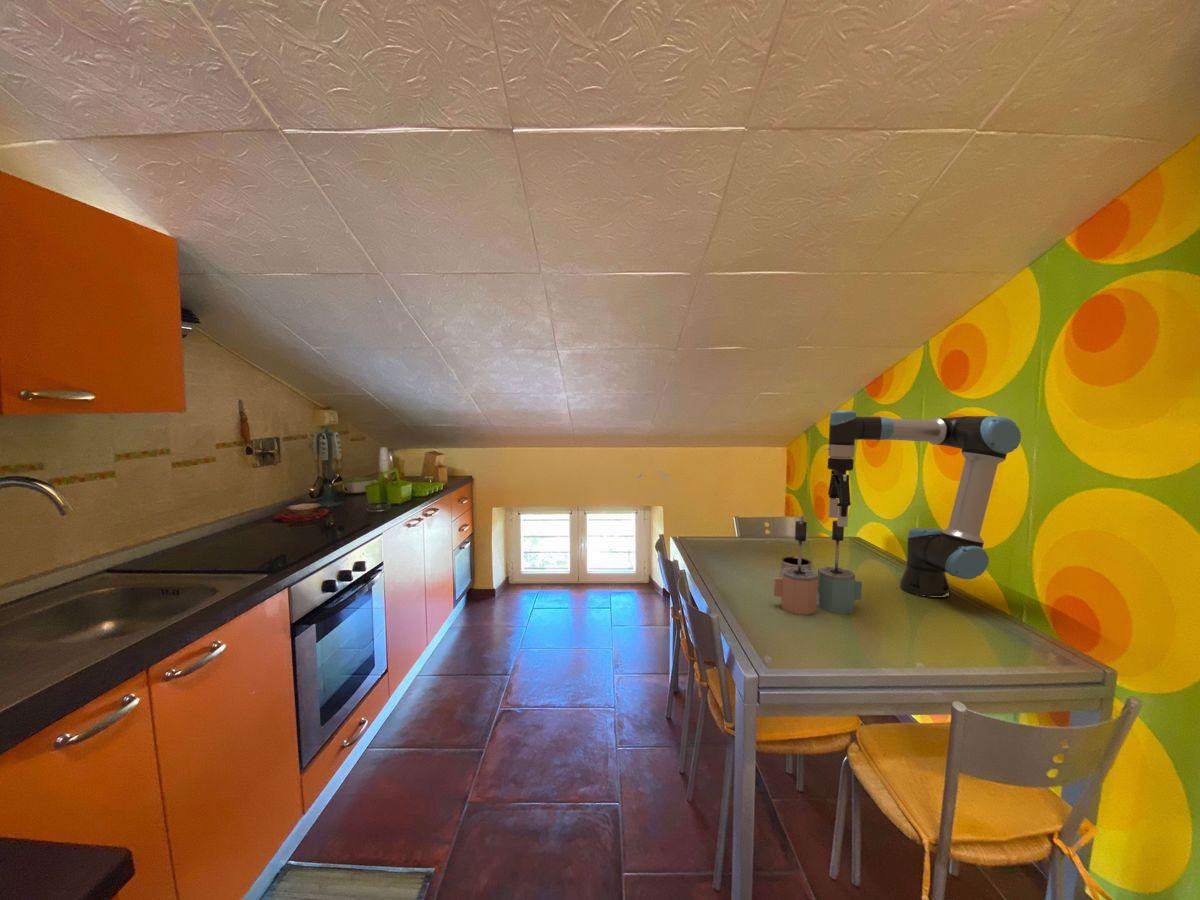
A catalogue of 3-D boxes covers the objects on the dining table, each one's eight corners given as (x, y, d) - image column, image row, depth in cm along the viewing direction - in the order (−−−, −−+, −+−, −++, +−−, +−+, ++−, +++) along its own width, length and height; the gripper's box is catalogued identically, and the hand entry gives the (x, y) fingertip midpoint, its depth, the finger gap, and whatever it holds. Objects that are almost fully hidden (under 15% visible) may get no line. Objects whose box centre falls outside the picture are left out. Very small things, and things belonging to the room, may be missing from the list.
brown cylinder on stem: (809, 577, 160) (812, 520, 159) (814, 586, 153) (816, 525, 151) (784, 575, 163) (786, 518, 161) (787, 583, 155) (789, 523, 153)
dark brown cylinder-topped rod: (846, 577, 161) (848, 519, 160) (852, 585, 154) (854, 525, 152) (820, 575, 163) (822, 518, 162) (825, 583, 156) (827, 523, 154)
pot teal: (855, 603, 162) (857, 569, 161) (864, 615, 152) (865, 579, 151) (815, 599, 165) (816, 565, 165) (820, 611, 155) (822, 575, 155)
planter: (805, 581, 184) (806, 556, 183) (815, 591, 173) (816, 565, 172) (776, 580, 185) (777, 555, 184) (784, 590, 174) (785, 564, 173)
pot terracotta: (812, 603, 162) (813, 569, 161) (817, 615, 152) (819, 579, 151) (772, 599, 165) (773, 565, 164) (775, 611, 155) (776, 575, 154)
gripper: (821, 454, 168) (818, 513, 170) (836, 460, 144) (833, 529, 146) (844, 455, 166) (841, 514, 168) (864, 461, 142) (860, 531, 144)
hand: (837, 521), depth 157 cm, fingers open, 13 cm apart
